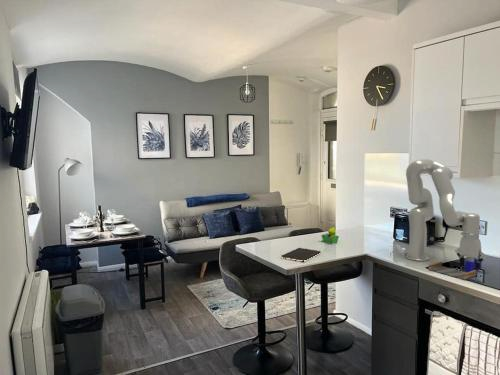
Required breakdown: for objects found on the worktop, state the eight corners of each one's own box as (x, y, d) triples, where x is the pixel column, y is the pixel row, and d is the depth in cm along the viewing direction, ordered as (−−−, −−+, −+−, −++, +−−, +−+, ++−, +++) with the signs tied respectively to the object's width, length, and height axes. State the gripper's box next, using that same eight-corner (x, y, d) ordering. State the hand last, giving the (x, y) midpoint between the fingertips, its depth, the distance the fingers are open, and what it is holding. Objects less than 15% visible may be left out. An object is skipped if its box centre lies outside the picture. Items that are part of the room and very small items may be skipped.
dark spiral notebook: (281, 259, 236) (280, 255, 235) (298, 251, 254) (298, 247, 254) (303, 263, 226) (303, 259, 226) (320, 254, 245) (320, 251, 245)
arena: (428, 270, 208) (428, 264, 208) (439, 266, 214) (440, 261, 214) (465, 280, 191) (465, 274, 191) (476, 276, 197) (476, 270, 197)
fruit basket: (320, 241, 276) (320, 226, 275) (329, 240, 281) (329, 225, 280) (331, 245, 267) (332, 229, 266) (340, 243, 272) (340, 227, 271)
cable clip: (472, 267, 213) (472, 256, 212) (481, 269, 209) (481, 258, 209) (462, 271, 206) (462, 260, 205) (470, 273, 202) (471, 262, 202)
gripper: (451, 234, 212) (450, 264, 214) (484, 240, 197) (482, 272, 199) (458, 232, 216) (457, 262, 218) (491, 238, 201) (490, 270, 203)
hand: (469, 267), depth 208 cm, fingers open, 7 cm apart
